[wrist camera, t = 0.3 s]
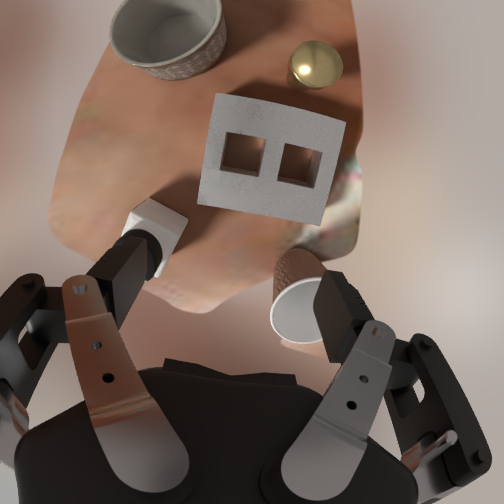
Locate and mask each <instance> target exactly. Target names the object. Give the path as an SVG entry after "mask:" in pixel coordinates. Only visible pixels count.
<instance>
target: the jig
mask: <svg viewBox="0 0 504 504" xmlns="http://www.w3.org/2000/svg"><path fill="white" fill-rule="evenodd" d="M345 126H346V122H344V121H341V120H338V119H335V118H331V117H328V116H325V115H321V114H318V113H314V112H310V111H307V110H303V109H299V108H295V107H291V106H287V105H282V104H278V103H273V102H269V101H264V100H259V99H253V98H248V97H242V96H235V95H229V94H222V93H216V96H215V100H214V105H213V110H212V115H211V121H210V126H209V131H208V137H207V142H206V148H205V154H204V160H203V166H202V173H201V179H200V186H199V193H198V200H197V204H201V205H207V206H213V207H220V208H226V209H231V210H237V211H243V212H249V213H254V214H260V215H265V216H271V217H276V218H282V219H287V220H292V221H297V222H302V223H307V224H312V225H317V226H320V224H321V221H322V217H323V214H324V210H325V207H326V203H327V199H328V196H329V192H330V188H331V184H332V180H333V176H334V173H335V169H336V165H337V161H338V156H339V152H340V148H341V144H342V139H343V135H344V131H345ZM229 132H231V133H237V134H243V135H249V136H254V137H259V138H264V140H263V145H262V150H261V154H260V159H259V164H258V169H257V171H251V170H246V169H240V168H234V167H228V166H223V161H224V155H225V150H226V144H227V139H228V134H229ZM285 143H288V144H292V145H296V146H300V147H305V148H309V149H312V150H313V152H312V156H311V161H310V165H309V169H308V173H307V177H306V181H305V182H304V181H300V180H295V179H291V178H286V177H282V176H278V172H279V168H280V163H281V159H282V154H283V149H284V145H285Z"/></svg>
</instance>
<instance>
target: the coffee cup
mask: <svg viewBox="0 0 504 504" xmlns="http://www.w3.org/2000/svg"><path fill="white" fill-rule="evenodd" d="M326 270H327V269H326V268H325V267H324V266H323V264H322V263H321V262H320V261H319V260H318V259H317V257H316V256H314V255H313V254H312V253H310V252H309V251H307V250H304V249H292V250H289V251H287V252H285V253H283V254H282V255H281V256H280V257H279V259H278V260H277V262H276V265H275V268H274V280H273V281H274V283H273V305H272V308H271V311H270V321H271V324H272V327H273V329H274V330H275V332H276V333H277V334H278V335H279V336H280V337H282V338H283V339H285V340H287V341H290V342H293V343H300V344H308V343H314V342H318V341H321V340H323V339H322V336H321V333H320V330H319V327H318V324H317V321H316V318H315V315H314V312H313V301H314V297H315V295H316V292H317V289H318V287H319V284H320V281H321V279H322V276H323V273H324V272H325V271H326ZM273 318H274V319H273Z"/></svg>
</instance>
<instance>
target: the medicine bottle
mask: <svg viewBox="0 0 504 504" xmlns="http://www.w3.org/2000/svg"><path fill="white" fill-rule="evenodd" d="M188 221H189V220H188V218H186V217H184V216H182V215H180V214H178V213H177V212H175V211H173V210H171V209H169V208H167V207H165V206H164V205H162V204H160V203H158V202H156V201H154V200H153V199H151V198H147V199H146V200H145V201H143V202H142V203H141V204H139V205H138V206H137V207H136V208H134V209H133V210H132V211H131V212H130V214H129V217H128V219H127V222H126V224H125V227H124V230H123V232H122V235H121V237H120V238H119V239H118V240H117V241H116V242H115V244H114V245H113V247H114V246H116V245H122V244H123V243H124V242H125V241H126V240H127V239H128V238H129V237H130V236H132V237H138V238H144V239H146V240H147V272H146V279H145V282H147V281H149V280H150V279H151V278H152V277H153V276H155V277H157V278H158V277H160V275H161V273H162V271H163V270H164V268H165V266H166V264H167V262H168V260H169V258H170V256H171V254H172V252H173V250H174V248H175V246H176V244H177V242H178V241H179V239H180V237H181V235H182V233H183V231H184V229H185V227H186V225H187V223H188Z"/></svg>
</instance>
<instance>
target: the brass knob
mask: <svg viewBox="0 0 504 504" xmlns="http://www.w3.org/2000/svg"><path fill="white" fill-rule="evenodd" d="M288 71H289V73H288V74H287V82H288V84H289V86H290V87H291V88H292V89H294V90H296V91H305V90H307V89H309V90H319V89H323V88H325V87H327V86H329V85H331V84H333V83H335V82H336V81H337V80H338V79H339V78H340V77H341V75H342V72H343V62H342V59H341V57H340V55H339V53H338V52H337V51H336V50H335V49H334V48H333V47H332V46H330V45H328V44H326V43H324V42H321V41H307V42H304V43H302V44H301V45H299V46H298V47H297V48H296V50H295V51H294V53H293V54H292V56H291V57H290V59H289V62H288Z"/></svg>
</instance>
